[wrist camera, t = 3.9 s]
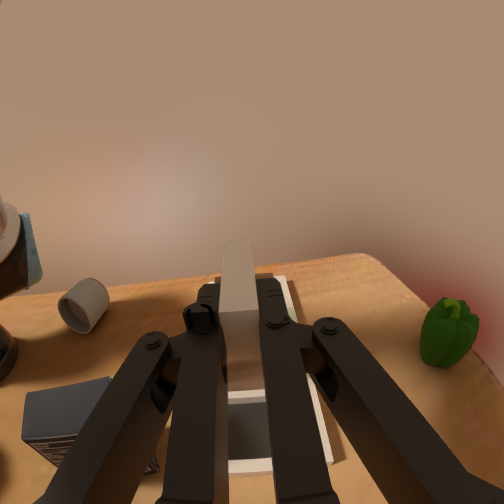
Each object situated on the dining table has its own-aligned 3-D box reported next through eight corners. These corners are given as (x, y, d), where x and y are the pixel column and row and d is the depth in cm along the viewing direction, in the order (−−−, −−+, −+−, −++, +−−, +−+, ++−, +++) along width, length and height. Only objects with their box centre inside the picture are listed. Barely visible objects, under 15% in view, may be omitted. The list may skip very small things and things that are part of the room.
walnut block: (280, 387, 29) (280, 307, 24) (228, 391, 29) (211, 313, 24) (274, 351, 35) (272, 272, 29) (228, 355, 35) (215, 277, 29)
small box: (148, 426, 26) (111, 371, 21) (161, 472, 21) (118, 429, 16) (73, 440, 22) (24, 388, 18) (78, 484, 17) (19, 441, 12)
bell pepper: (459, 340, 32) (482, 286, 28) (461, 380, 26) (493, 324, 21) (413, 331, 36) (431, 276, 32) (409, 371, 30) (433, 313, 25)
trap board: (331, 465, 21) (333, 460, 20) (191, 476, 20) (187, 471, 20) (284, 282, 52) (284, 275, 51) (209, 288, 52) (208, 281, 51)
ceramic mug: (117, 308, 47) (103, 272, 44) (97, 336, 40) (80, 299, 36) (77, 305, 48) (63, 273, 45) (57, 330, 41) (40, 296, 38)
